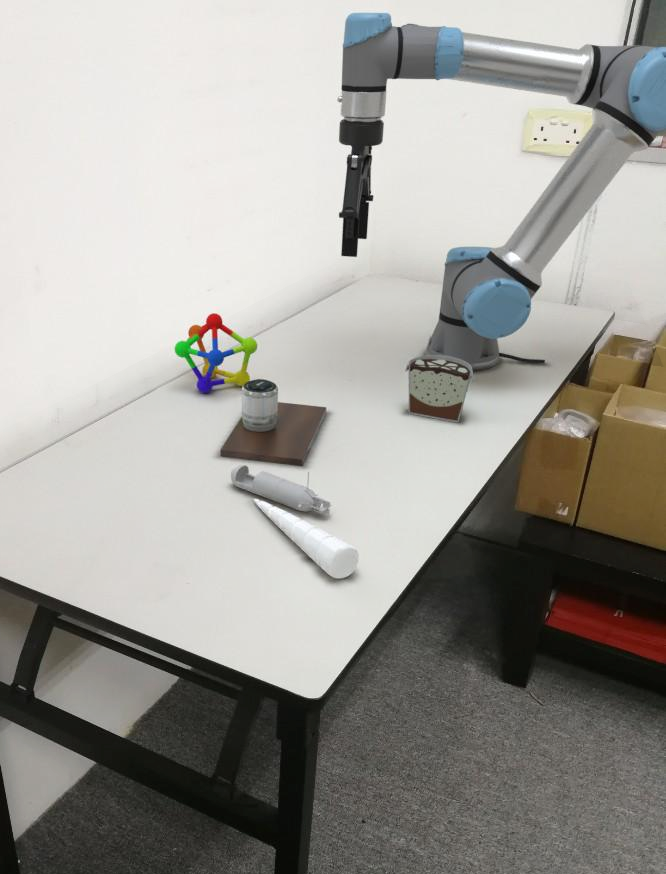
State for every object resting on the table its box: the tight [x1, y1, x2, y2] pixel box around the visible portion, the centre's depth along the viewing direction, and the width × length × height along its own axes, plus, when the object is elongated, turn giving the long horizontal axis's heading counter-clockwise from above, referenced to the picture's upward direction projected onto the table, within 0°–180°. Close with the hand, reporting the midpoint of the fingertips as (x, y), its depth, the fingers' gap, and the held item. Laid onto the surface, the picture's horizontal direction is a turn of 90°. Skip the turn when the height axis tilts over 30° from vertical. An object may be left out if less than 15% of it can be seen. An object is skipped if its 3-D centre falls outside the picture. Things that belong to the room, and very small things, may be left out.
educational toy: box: [174, 312, 258, 394], centre depth 164 cm, size 16×13×15 cm
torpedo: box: [230, 464, 332, 516], centre depth 129 cm, size 18×5×6 cm, turn 53°
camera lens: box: [241, 378, 279, 432], centre depth 149 cm, size 6×6×8 cm
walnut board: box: [220, 401, 327, 467], centre depth 151 cm, size 14×22×1 cm, turn 166°
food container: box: [405, 354, 474, 423], centre depth 157 cm, size 12×6×10 cm, turn 65°
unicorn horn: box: [253, 498, 359, 579], centre depth 121 cm, size 5×24×5 cm, turn 27°
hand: (354, 247), depth 157 cm, fingers open, 13 cm apart
